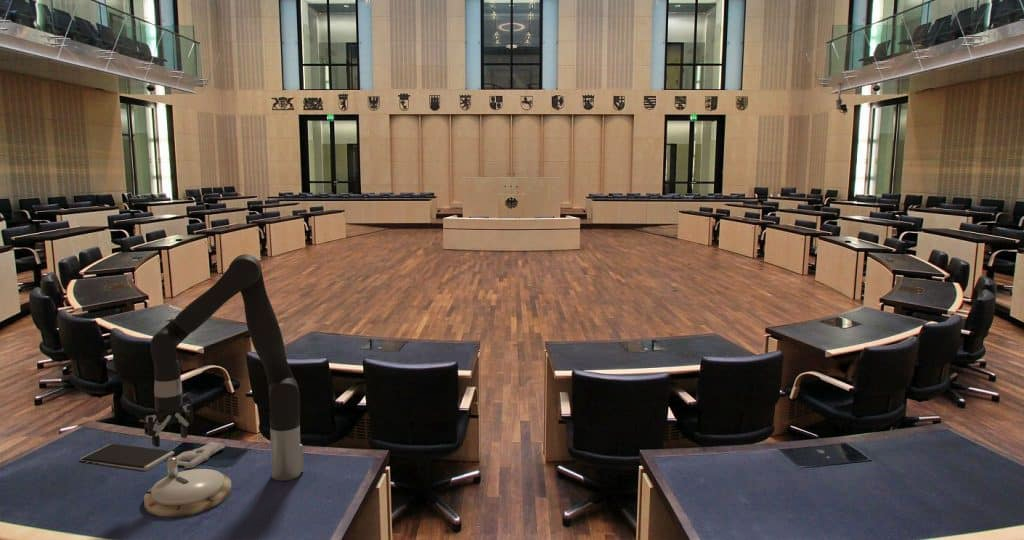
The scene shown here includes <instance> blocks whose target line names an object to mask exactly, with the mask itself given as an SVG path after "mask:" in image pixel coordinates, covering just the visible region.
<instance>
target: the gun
mask: <svg viewBox="0 0 1024 540" xmlns="http://www.w3.org/2000/svg"><path fill="white" fill-rule="evenodd" d="M224 448H226V443H223V442H215V441H210V442H209V443H207V444H205V445H203V446H201V447H198V448H195V449H192V450H186V451H183V452H181V453H179V454H178V455H176V456H175V457H177V466H182V467H183V466H184V469H192V468H193V469H194V468H195V467H197V466H198V465H200V464H202V463H203V462H205V461H206V460H209V459H210V457H211V456H213V455H214V454H216V453H218V452H220V451H221V450H222V449H224Z"/></svg>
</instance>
